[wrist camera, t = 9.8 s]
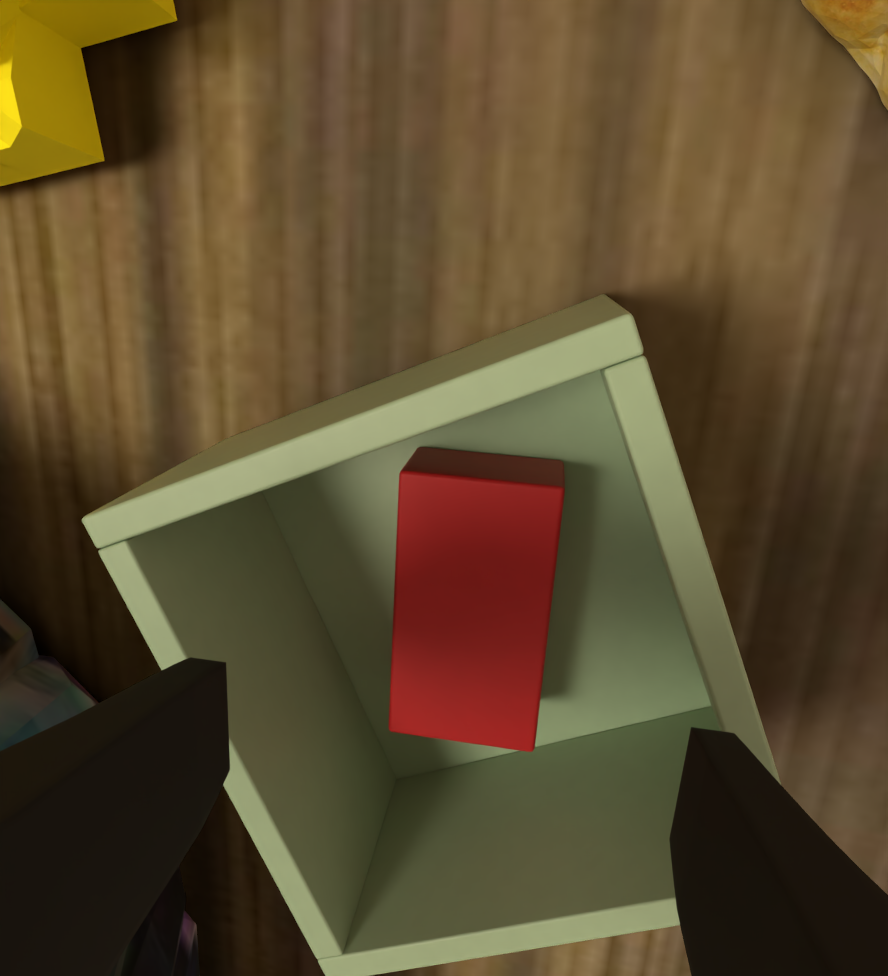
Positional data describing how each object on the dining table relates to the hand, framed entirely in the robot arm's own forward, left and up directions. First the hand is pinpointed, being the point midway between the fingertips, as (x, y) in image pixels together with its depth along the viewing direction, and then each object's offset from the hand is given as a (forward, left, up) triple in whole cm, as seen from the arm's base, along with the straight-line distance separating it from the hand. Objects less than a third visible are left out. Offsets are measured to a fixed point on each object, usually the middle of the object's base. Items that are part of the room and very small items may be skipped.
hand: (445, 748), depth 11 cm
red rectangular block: (0, 0, -6) cm, 6 cm away
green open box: (0, 0, -6) cm, 6 cm away
